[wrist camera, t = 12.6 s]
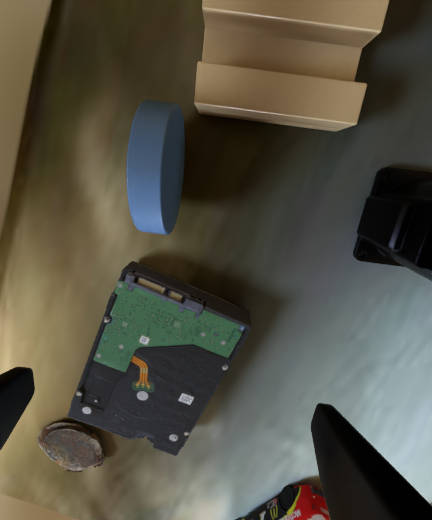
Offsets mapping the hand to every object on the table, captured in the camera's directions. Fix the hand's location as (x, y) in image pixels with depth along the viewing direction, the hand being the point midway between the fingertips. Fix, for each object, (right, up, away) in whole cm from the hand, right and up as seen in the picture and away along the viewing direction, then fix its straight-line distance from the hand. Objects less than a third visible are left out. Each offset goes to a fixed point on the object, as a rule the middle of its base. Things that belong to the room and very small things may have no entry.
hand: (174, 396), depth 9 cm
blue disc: (-2, +10, +10) cm, 15 cm away
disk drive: (-4, -4, +15) cm, 16 cm away
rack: (+5, +18, +8) cm, 20 cm away
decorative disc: (-13, -14, +19) cm, 27 cm away
